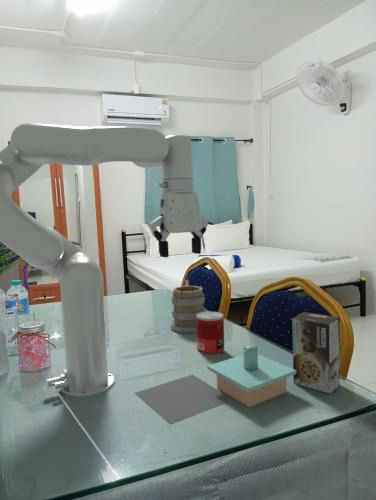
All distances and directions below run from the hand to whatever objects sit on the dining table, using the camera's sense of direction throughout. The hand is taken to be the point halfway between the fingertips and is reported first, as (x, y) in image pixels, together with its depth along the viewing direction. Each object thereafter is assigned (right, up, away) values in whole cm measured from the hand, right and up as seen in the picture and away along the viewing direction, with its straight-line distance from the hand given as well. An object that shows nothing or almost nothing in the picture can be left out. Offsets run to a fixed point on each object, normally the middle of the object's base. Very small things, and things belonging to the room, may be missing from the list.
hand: (180, 255), depth 99 cm
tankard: (+2, -26, +43) cm, 50 cm away
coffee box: (+32, -30, -7) cm, 45 cm away
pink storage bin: (+16, -31, -11) cm, 37 cm away
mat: (+1, -32, -12) cm, 34 cm away
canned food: (+9, -29, +15) cm, 34 cm away
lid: (+16, -26, -11) cm, 33 cm away
